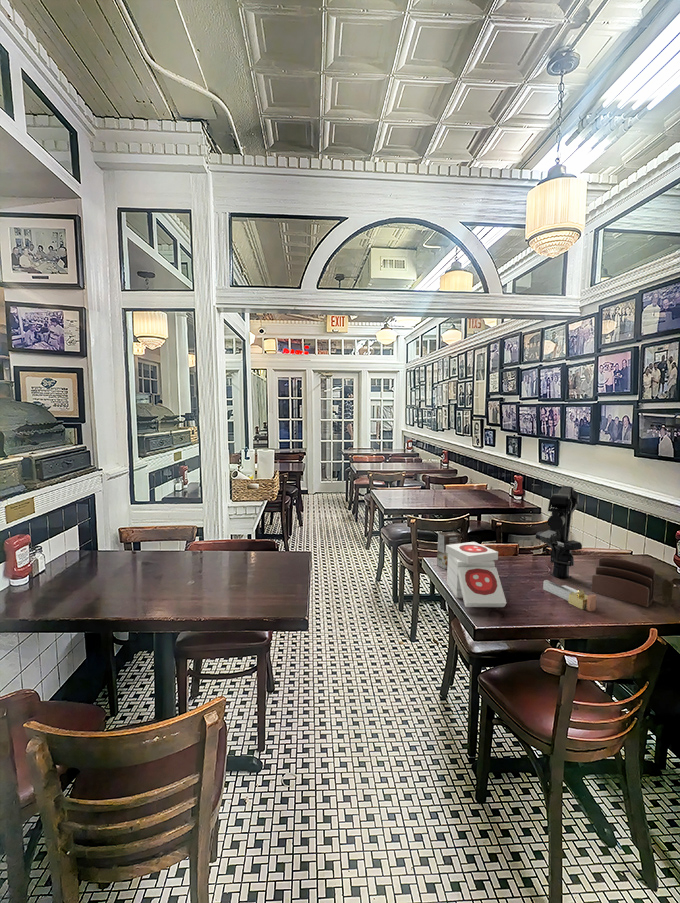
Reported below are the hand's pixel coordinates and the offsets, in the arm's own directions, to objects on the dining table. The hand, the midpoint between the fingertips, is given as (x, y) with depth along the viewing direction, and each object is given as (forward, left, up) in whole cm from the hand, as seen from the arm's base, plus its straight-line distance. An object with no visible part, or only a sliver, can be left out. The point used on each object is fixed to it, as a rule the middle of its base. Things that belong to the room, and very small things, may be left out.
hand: (556, 560), depth 183 cm
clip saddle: (+6, +16, -12) cm, 21 cm away
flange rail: (+10, +11, -12) cm, 19 cm away
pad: (-1, +5, -12) cm, 13 cm away
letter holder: (-18, +16, -12) cm, 28 cm away
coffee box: (+27, -38, -12) cm, 48 cm away
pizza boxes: (+38, -6, -12) cm, 41 cm away
